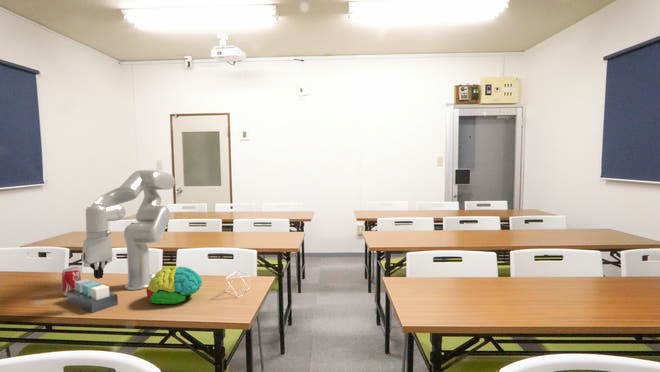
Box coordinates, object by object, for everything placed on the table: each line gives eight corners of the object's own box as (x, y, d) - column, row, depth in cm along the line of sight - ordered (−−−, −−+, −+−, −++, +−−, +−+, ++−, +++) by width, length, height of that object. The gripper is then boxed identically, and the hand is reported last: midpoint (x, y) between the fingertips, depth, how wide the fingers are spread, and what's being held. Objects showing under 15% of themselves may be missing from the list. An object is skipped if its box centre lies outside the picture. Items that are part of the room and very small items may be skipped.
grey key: (87, 289, 159) (87, 278, 158) (92, 291, 156) (92, 280, 156) (75, 292, 155) (74, 281, 154) (80, 294, 152) (79, 283, 152)
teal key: (95, 292, 155) (95, 281, 154) (100, 294, 152) (100, 283, 152) (82, 296, 151) (82, 284, 150) (88, 298, 148) (87, 286, 148)
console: (92, 294, 162) (92, 284, 162) (117, 304, 150) (117, 294, 149) (67, 301, 153) (66, 291, 153) (92, 313, 141) (91, 302, 141)
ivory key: (103, 295, 151) (103, 284, 151) (109, 298, 148) (109, 286, 148) (90, 299, 147) (90, 288, 146) (96, 302, 144) (96, 290, 144)
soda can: (71, 297, 158) (69, 271, 157) (58, 296, 159) (57, 270, 159) (84, 291, 165) (83, 267, 164) (72, 290, 166) (71, 266, 166)
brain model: (209, 291, 164) (207, 260, 164) (191, 307, 145) (188, 272, 145) (162, 292, 166) (159, 262, 165) (137, 309, 147) (134, 274, 146)
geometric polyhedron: (220, 296, 159) (219, 277, 158) (232, 288, 169) (231, 270, 169) (244, 299, 156) (244, 279, 155) (255, 290, 166) (255, 272, 166)
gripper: (111, 231, 154) (112, 272, 155) (72, 237, 141) (74, 281, 142) (120, 233, 150) (121, 274, 151) (81, 239, 137) (82, 284, 138)
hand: (98, 277), depth 146 cm, fingers closed
